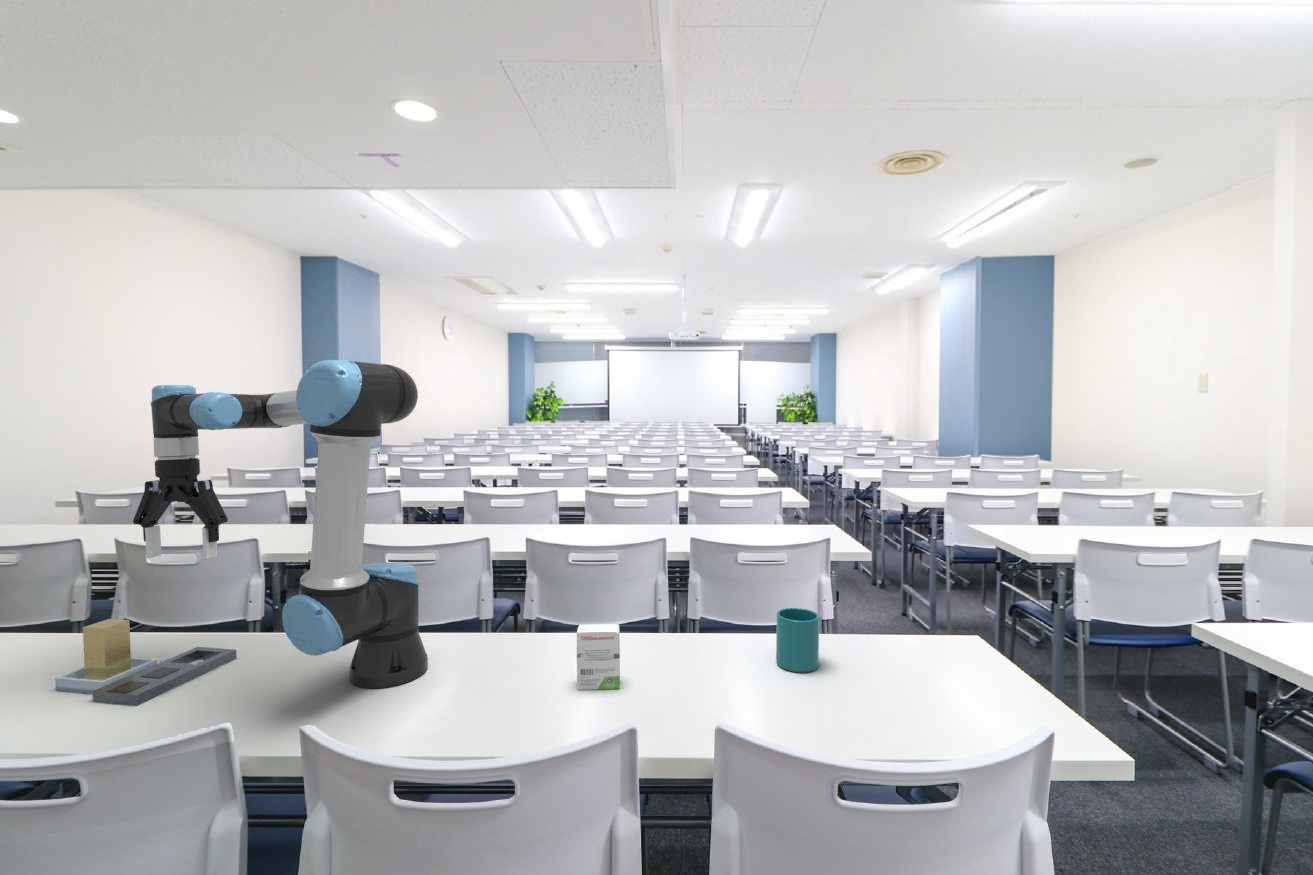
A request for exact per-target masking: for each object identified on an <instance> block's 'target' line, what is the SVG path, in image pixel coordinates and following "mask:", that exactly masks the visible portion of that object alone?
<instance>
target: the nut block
mask: <svg viewBox="0 0 1313 875" xmlns="http://www.w3.org/2000/svg"><path fill="white" fill-rule="evenodd" d="M130 627H131V626H130V619H117V618H116V619H114V618H107V619H104V620H101V621H98V622H95V623H91V624H88V625H86V626H82V638H83V641H82V642H83V662H84V668H85V679H89V680H100V681H103V680H106V679H108V678H110V677H113V676H115V675H118V674H120V673H123V672H125V671H127V670H130V669H131V656H132V653H131V652H132V651H131V629H130Z"/></svg>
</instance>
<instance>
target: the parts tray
mask: <svg viewBox="0 0 1313 875" xmlns="http://www.w3.org/2000/svg"><path fill="white" fill-rule="evenodd" d="M156 664H158V659H157V658H143V657H131V669H130V670H127V671H125V672H123V673H120V674H118V675H115V676H113V677H110V678H108V679H106V680H103V681H100V680H89V679H85V668H84V667H81V668H79V669H76V670H73V671H71V672H67V673H66V674H65V673H64V674H63V675H60V676H57V677H55V678H54V679H55V680H54V682H55V683H54V684H55V691H57V692H67V693H76V694H89V695H93V692H92V691H94V690H96V689H99V688H101V687H103V686H106V685H108V684H110V683H113V682H115V681H118V680H120V679H122V678H125V677H127V676H129V675H132V674H134V673H137V672H139V671H141V670H144V669H146V668H148V667H151V666H153V665H156Z"/></svg>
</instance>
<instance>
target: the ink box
mask: <svg viewBox="0 0 1313 875" xmlns="http://www.w3.org/2000/svg"><path fill="white" fill-rule="evenodd" d="M620 636H621V635H620V624H618V623H615V624H611V623H610V624H578V627H577V630H576V686H577V687H576V688H577V690H578V691H590V690H591V691H592V690H595V691H598V690H619V689H620V688H621V661H620V660H621V655H620V654H621V653H620V652H621V648H620V647H621V646H620V644H621V642H620Z"/></svg>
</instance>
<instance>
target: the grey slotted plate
mask: <svg viewBox="0 0 1313 875" xmlns="http://www.w3.org/2000/svg"><path fill="white" fill-rule="evenodd" d="M237 654H238V653H237V649H235V648H234V649H233V648H220V647H207V646H195V647H194V648H191V649H188V650H187V651H184V652H181V653H180V654H177V655H174V656H172V657H171V658H170V657H169V658H168V659H166V660H162V661H161V662H160V661H159V662H157V664H156V665H153V666H151V667H148V668H146V669H144V670H141V671H139V672H137V673H134V674H132V675H129V676H127V677H125V678H122V679H120V680H118V681H115V682H113V683H110V684H108V685H106V686H103V687H101V688H99V689H96V690H94V691H92V692H93V694H92V702H95V703H107V704H116V705H117V704H118V705H127V706H137V707H138V706H140V705H143V704H144V703H146V702H148V701H150V700H152V699H154V698H157V697H159V696H161V695H163V694H165V693H167V692H169V691H171V690H174V689H175V688H178V687H180V686H182V685H184V684H186V683H188V682H190V681H192V680H194V679H196V678H197V679H198V677H201V676H203V675H205V674H207V673H209V672H211V671H213V670H215V669H217V668H220V667H221V666H223V665H226V664H228V663H230V662H232V661H234V660H236V659H238V658H237V657H238V655H237ZM196 660H201V661H200V662H198V663H192V662H194V661H196Z"/></svg>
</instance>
